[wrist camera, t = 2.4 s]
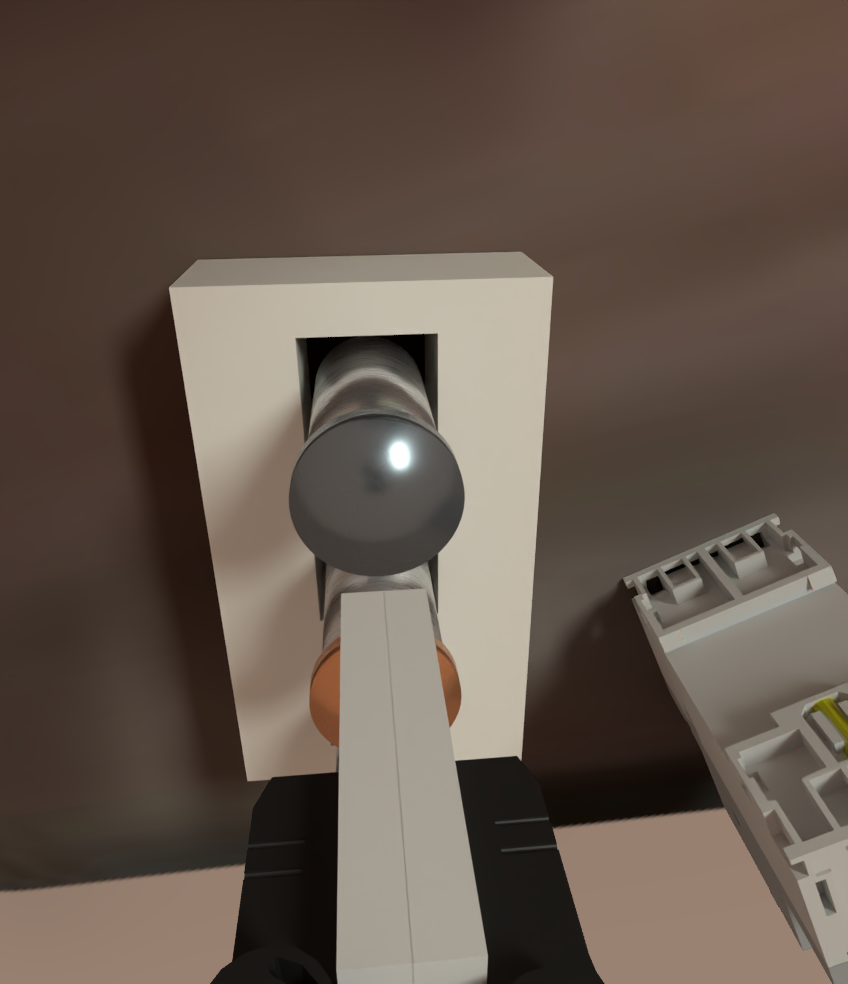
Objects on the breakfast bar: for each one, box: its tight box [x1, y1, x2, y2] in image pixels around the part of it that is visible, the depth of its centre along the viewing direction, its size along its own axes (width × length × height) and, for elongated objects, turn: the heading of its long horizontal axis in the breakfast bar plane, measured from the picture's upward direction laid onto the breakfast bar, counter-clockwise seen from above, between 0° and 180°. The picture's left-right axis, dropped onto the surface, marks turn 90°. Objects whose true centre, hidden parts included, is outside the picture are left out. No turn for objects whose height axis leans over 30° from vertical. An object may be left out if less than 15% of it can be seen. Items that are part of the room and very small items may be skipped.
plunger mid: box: [309, 561, 462, 748], centre depth 26 cm, size 4×4×9 cm
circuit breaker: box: [623, 513, 848, 984], centre depth 32 cm, size 8×14×15 cm, turn 25°
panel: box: [169, 252, 553, 781], centre depth 30 cm, size 21×12×5 cm, turn 1°
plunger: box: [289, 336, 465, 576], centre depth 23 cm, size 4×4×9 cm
